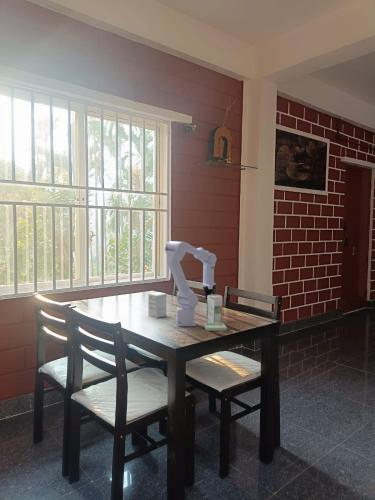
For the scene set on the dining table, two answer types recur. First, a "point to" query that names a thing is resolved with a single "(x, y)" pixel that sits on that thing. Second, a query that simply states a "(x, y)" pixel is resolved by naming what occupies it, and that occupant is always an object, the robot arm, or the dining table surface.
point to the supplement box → (157, 304)
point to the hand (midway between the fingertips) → (207, 300)
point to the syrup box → (214, 308)
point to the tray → (215, 326)
